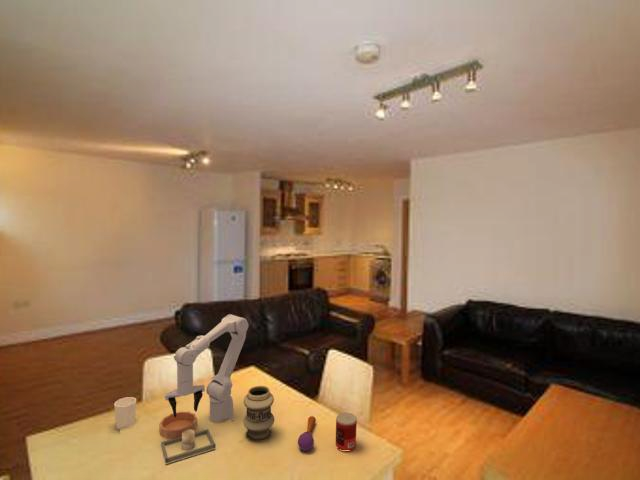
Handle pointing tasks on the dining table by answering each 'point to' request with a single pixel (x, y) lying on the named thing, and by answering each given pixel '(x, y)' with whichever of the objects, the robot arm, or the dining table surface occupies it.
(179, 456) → the charcoal tray
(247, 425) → the apothecary jar
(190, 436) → the taupe rounded cylinder
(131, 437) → the dining table surface
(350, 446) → the canned food
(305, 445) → the purple maraca
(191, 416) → the orange shallow faceted dish
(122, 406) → the white cup
